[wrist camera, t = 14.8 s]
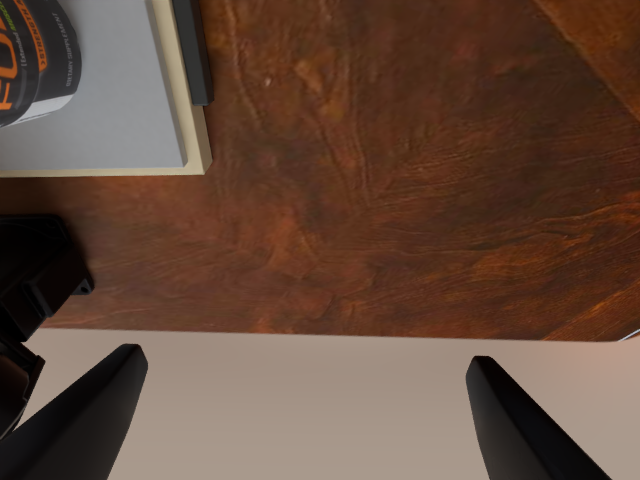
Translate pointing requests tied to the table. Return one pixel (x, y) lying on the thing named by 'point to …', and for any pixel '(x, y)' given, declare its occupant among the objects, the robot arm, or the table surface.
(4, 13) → the pill bottle
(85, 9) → the scale
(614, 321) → the table surface
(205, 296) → the table surface
